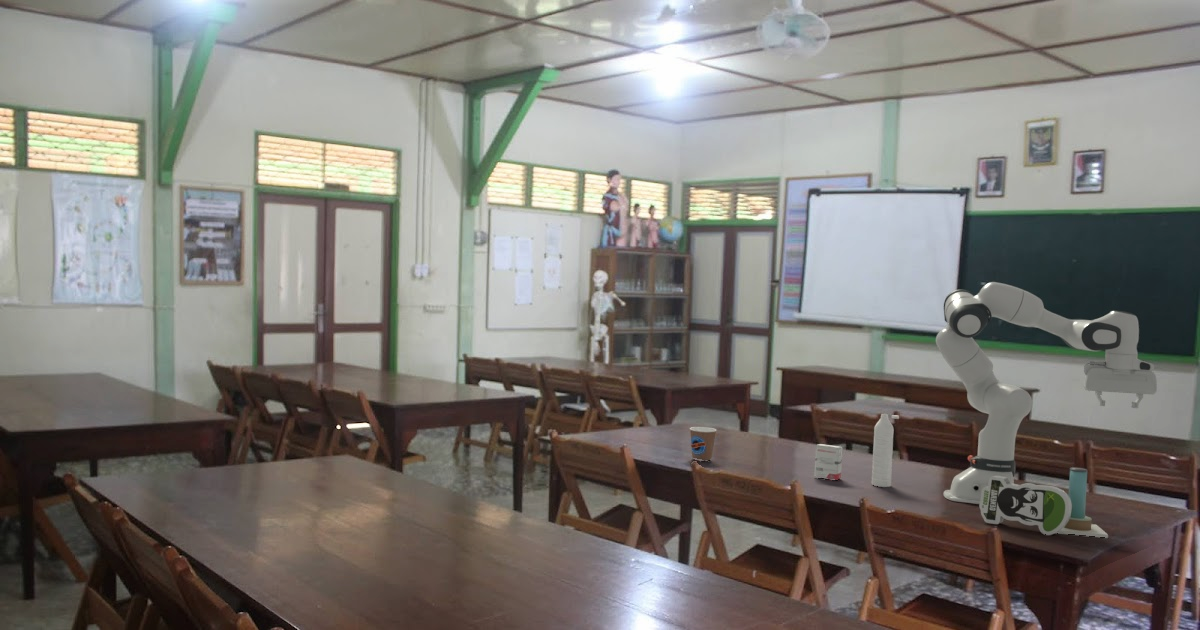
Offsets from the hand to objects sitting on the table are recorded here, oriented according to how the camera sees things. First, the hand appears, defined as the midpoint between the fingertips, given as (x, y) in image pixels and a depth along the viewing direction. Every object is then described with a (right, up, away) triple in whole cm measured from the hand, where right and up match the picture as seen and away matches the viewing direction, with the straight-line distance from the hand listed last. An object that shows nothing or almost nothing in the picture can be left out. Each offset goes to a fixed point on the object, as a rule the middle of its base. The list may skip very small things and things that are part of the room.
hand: (1118, 406), depth 295 cm
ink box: (-81, -30, +41) cm, 96 cm away
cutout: (-40, -34, -22) cm, 56 cm away
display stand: (-24, -34, -21) cm, 47 cm away
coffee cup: (-123, -27, +67) cm, 143 cm away
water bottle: (-64, -31, +31) cm, 78 cm away
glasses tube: (-24, -30, -21) cm, 44 cm away
